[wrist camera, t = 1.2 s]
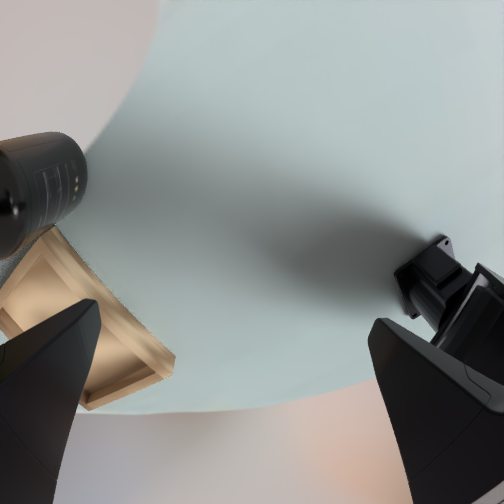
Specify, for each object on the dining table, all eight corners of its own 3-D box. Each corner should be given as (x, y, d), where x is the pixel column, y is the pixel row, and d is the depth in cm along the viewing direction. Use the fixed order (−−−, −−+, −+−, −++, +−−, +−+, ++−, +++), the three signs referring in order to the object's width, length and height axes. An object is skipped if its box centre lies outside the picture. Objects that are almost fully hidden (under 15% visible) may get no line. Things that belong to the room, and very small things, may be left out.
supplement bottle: (23, 207, 19) (-75, 271, 8) (30, 127, 17) (-85, 152, 6) (86, 224, 20) (-7, 310, 10) (98, 137, 18) (-20, 163, 7)
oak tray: (175, 356, 26) (171, 375, 24) (94, 395, 29) (88, 411, 26) (55, 225, 20) (39, 236, 18) (-3, 299, 23) (-15, 312, 20)
